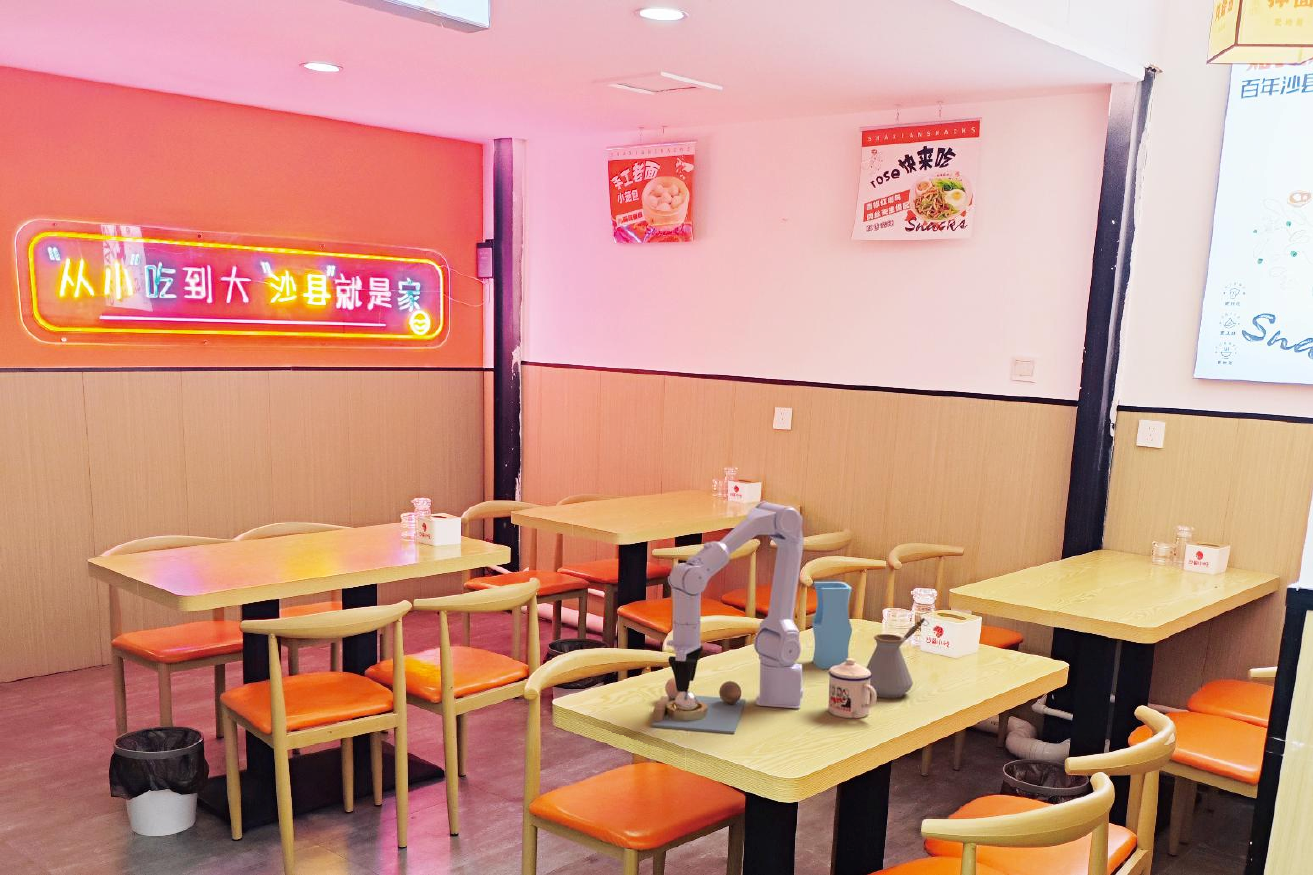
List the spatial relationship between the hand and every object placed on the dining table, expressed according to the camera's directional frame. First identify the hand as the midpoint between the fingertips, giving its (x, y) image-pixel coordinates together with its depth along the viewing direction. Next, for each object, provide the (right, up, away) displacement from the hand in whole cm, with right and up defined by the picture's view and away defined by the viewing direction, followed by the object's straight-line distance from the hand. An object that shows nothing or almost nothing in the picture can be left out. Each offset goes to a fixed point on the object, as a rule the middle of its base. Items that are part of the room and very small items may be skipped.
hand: (685, 685), depth 224 cm
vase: (+37, -5, +43) cm, 57 cm away
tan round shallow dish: (0, -7, +2) cm, 7 cm away
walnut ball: (+10, -4, +9) cm, 14 cm away
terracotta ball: (-2, -3, +12) cm, 12 cm away
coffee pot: (+50, -7, +24) cm, 56 cm away
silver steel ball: (0, -4, +1) cm, 4 cm away
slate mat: (+3, -7, +4) cm, 9 cm away
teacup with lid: (+36, -8, +6) cm, 37 cm away
